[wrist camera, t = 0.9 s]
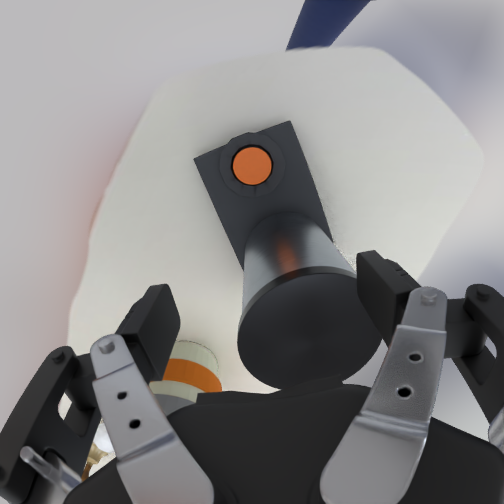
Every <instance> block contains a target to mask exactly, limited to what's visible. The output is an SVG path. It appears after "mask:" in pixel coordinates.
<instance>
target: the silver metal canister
mask: <svg viewBox="0 0 504 504" xmlns="http://www.w3.org/2000/svg"><path fill="white" fill-rule="evenodd" d="M381 340H382V336H381V335H380V333H379V331H378V330H377V328H376V326H375V325H374V323H373V321H372V320H371V318H370V316H369V315H368V313H367V311H366V310H365V308H364V306H363V305H362V303H361V302H360V300H359V297H358V293H357V273H356V272H355V271H354V269H353V268H352V267H351V265H350V264H349V263H348V262H347V260H346V259H345V258H344V257H343V255H342V254H341V253H340V251H339V250H338V249H337V248H336V246H335V245H334V244H333V243H332V242H331V240H330V239H329V238H328V237H327V235H326V234H325V233H324V232H323V230H322V229H321V228H320V227H319V226H318V225H317V224H316V223H315V222H314V221H313V220H311V219H310V218H308V217H306V216H304V215H301V214H298V213H291V212H286V213H278V214H275V215H272V216H270V217H267V218H266V219H264V220H263V221H261V222H260V223H259V224H258V225H257V226H256V227H255V228H254V229H253V230H252V232H251V233H250V235H249V237H248V240H247V242H246V247H245V261H244V281H243V302H242V315H241V318H240V321H239V326H238V339H237V346H238V352H239V356H240V358H241V360H242V362H243V364H244V366H245V367H246V369H247V370H248V371H249V372H250V373H251V374H252V375H253V376H254V377H255V378H257V379H258V380H259V381H261V382H263V383H264V384H266V385H269V386H271V387H274V388H277V389H281V390H282V389H285V388H288V387H291V386H294V385H296V384H299V383H302V382H304V381H309V380H315V379H320V378H325V377H330V376H334V375H339V374H340V376H341V379H342V381H344V380H346V379H347V378H349V377H350V376H352V375H353V374H355V373H356V372H357V371H359V370H360V369H361V368H362V367H363V366H364V365H366V363H367V362H368V361H369V360H370V359H371V358H372V356H373V355H374V354H375V352H376V351H377V349H378V347H379V345H380V343H381Z"/></svg>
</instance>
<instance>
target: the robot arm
mask: <svg viewBox="0 0 504 504" xmlns="http://www.w3.org/2000/svg"><path fill="white" fill-rule="evenodd" d="M356 267H357V293H358V297H359V300H360V302H361V303H362V305H363V306H364V308H365V310H366V311H367V313H368V315H369V316H370V318H371V320H372V321H373V323H374V325H375V326H376V328H377V330H378V331H379V333H380V335H381V336H382V338H383V340H384V341H385V343H386V345H387V347H388V351H387V354H386V356H385V358H384V361H383V363H382V366H381V368H380V370H379V373H378V375H377V377H376V379H375V382H374V384H373V386H372V388H370V387H367V386H361V385H354V384H343V383H342V379H341V376H340V374H339V375H334V376H330V377H325V378H320V379H315V380H309V381H304V382H302V383H299V384H296V385H294V386H291V387H288V388H285V389H282V390H279V391H276V392H273V393H270V394H259V393H247V392H237V391H222V392H206V393H197V399H196V403H194V404H191V405H188V406H185V407H182V408H180V409H178V410H176V411H174V412H172V413H170V414H169V415H166V413H165V412H164V410H163V408H162V407H161V405H160V404H159V402H158V400H157V399H156V397H155V395H154V394H153V392H152V390H151V389H150V387H149V384H150V381H162V379H163V376H164V373H165V370H166V367H167V364H168V361H169V358H170V355H171V352H172V349H173V347H174V344H175V341H176V338H177V335H178V332H179V329H180V316H179V313H178V310H177V307H176V304H175V301H174V298H173V295H172V292H171V290H170V287H169V285H168V284H160V285H153V286H150V287H149V288H148V290H147V291H146V293H145V295H144V296H143V298H141V299H139V300H138V301H137V302H136V303H135V304H133V306H132V307H131V309H130V310H129V313H127V315H126V316H125V319H124V320H123V321H122V323H121V324H120V326H119V327H118V329H117V331H116V332H115V334H111V335H107V336H104V337H102V338H100V339H99V340H97V341H96V342H95V343H94V344H93V345H92V347H91V349H90V353H88V354H84V355H80V356H76V354H75V353H74V351H73V349H72V348H71V347H69V346H63V347H59V348H57V349H55V350H54V351H52V352H51V353H50V354H49V355H48V356H47V357H46V359H45V360H44V362H43V363H42V365H41V366H40V368H39V369H38V371H37V372H36V374H35V375H34V377H33V378H32V380H31V381H30V383H29V385H28V386H27V388H26V389H25V391H24V393H23V395H22V396H21V398H20V399H19V401H18V403H17V404H16V406H15V408H14V409H13V411H12V413H11V415H10V416H9V418H8V420H7V422H6V424H5V425H4V427H3V429H2V431H1V433H0V496H1V497H3V498H4V499H5V500H7V501H8V502H9V503H10V504H504V297H503V296H502V295H501V294H499V293H498V292H497V291H496V290H495V289H494V288H492V287H490V286H488V285H484V284H473V285H470V286H469V287H468V288H467V290H466V294H465V298H462V299H447V296H446V294H445V293H444V292H443V291H441V290H439V289H437V288H433V287H421V286H420V285H419V284H418V283H417V282H416V281H415V280H414V279H413V278H412V277H411V276H410V275H408V273H407V272H406V271H405V270H403V268H402V267H401V266H400V265H398V264H397V263H396V262H393V261H391V260H389V259H384V258H383V257H381V256H380V255H379V254H378V253H377V252H376V251H375V250H372V251H366V252H361V253H358V254H357V257H356ZM487 337H489V338H490V339H491V341H492V342H493V343H494V345H495V347H496V350H497V357H496V359H495V357H494V356H493V355H492V353H491V352H490V351H489V349H488V348H487V347H486V346H485V342H486V339H487ZM444 358H452V360H453V362H454V363H455V365H456V366H457V368H458V369H459V371H460V373H461V374H462V376H463V378H464V379H465V381H466V382H467V384H468V386H469V388H470V389H471V391H472V393H473V395H474V396H475V398H476V400H477V402H478V403H479V405H480V407H481V409H482V411H483V412H484V414H485V417H486V418H487V420H488V422H489V424H490V426H489V429H488V438H489V442H488V441H485V440H483V439H481V438H478V437H476V436H473V435H471V434H469V433H467V432H464V431H462V430H460V429H457V428H455V427H453V426H451V425H448V424H446V423H444V422H442V421H440V420H438V419H435V418H433V417H431V415H432V412H433V408H434V404H435V400H436V395H437V391H438V386H439V381H440V376H441V371H442V365H443V359H444ZM64 392H65V394H66V395H67V396H68V398H69V399H70V400H71V401H72V404H71V406H70V408H69V410H68V412H67V414H66V417H65V419H64V420H63V419H62V418H61V417H60V415H59V413H58V404H59V402H60V400H61V398H62V396H63V394H64ZM101 417H102V418H103V421H104V424H105V427H106V430H107V433H108V436H109V438H110V441H111V444H112V446H113V449H114V451H115V454H116V457H115V458H114V459H113V460H111V461H110V462H109V463H107V464H106V465H105V466H103V467H102V468H101V469H99V470H98V471H97V472H95V473H94V474H93V475H91V476H90V477H88V478H87V479H86V480H84V481H83V482H82V480H81V477H82V474H83V471H84V467H85V464H86V461H87V458H88V455H89V452H90V449H91V446H92V443H93V440H94V437H95V434H96V431H97V428H98V426H99V423H100V420H101Z"/></svg>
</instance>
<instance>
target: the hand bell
mask: <svg viewBox="0 0 504 504" xmlns="http://www.w3.org/2000/svg"><path fill="white" fill-rule="evenodd" d="M108 454H109V453H107V452H104V451H102V450H100V449H99V448H98V447H97V446H96V444H95V443H94V442H93V443H92V446H91V449H90V452H89V455H88V458H87V464H86V466H85V469H84V471H83V474H82V477H81V480H82V482H83V481H84V480H86V479H87V478H88V477H89V471H90V469H91V467H92V465H93V464H98V463H99V461H100V459H101V458H102V457H103V456H106V455H108Z"/></svg>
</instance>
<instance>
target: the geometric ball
mask: <svg viewBox="0 0 504 504" xmlns="http://www.w3.org/2000/svg"><path fill="white" fill-rule="evenodd" d="M93 441H94V443H95V444H96V446H97V447H98V448H99V449H100V450H102V451H104V452H107V453H112V452H115V451H114V449H113V446H112V444H111V441H110V438H109V436H108V433H107V430H106V427H105V424H104V423H101V424H99V426H98V428H97V431H96V434H95V437H94V440H93Z"/></svg>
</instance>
